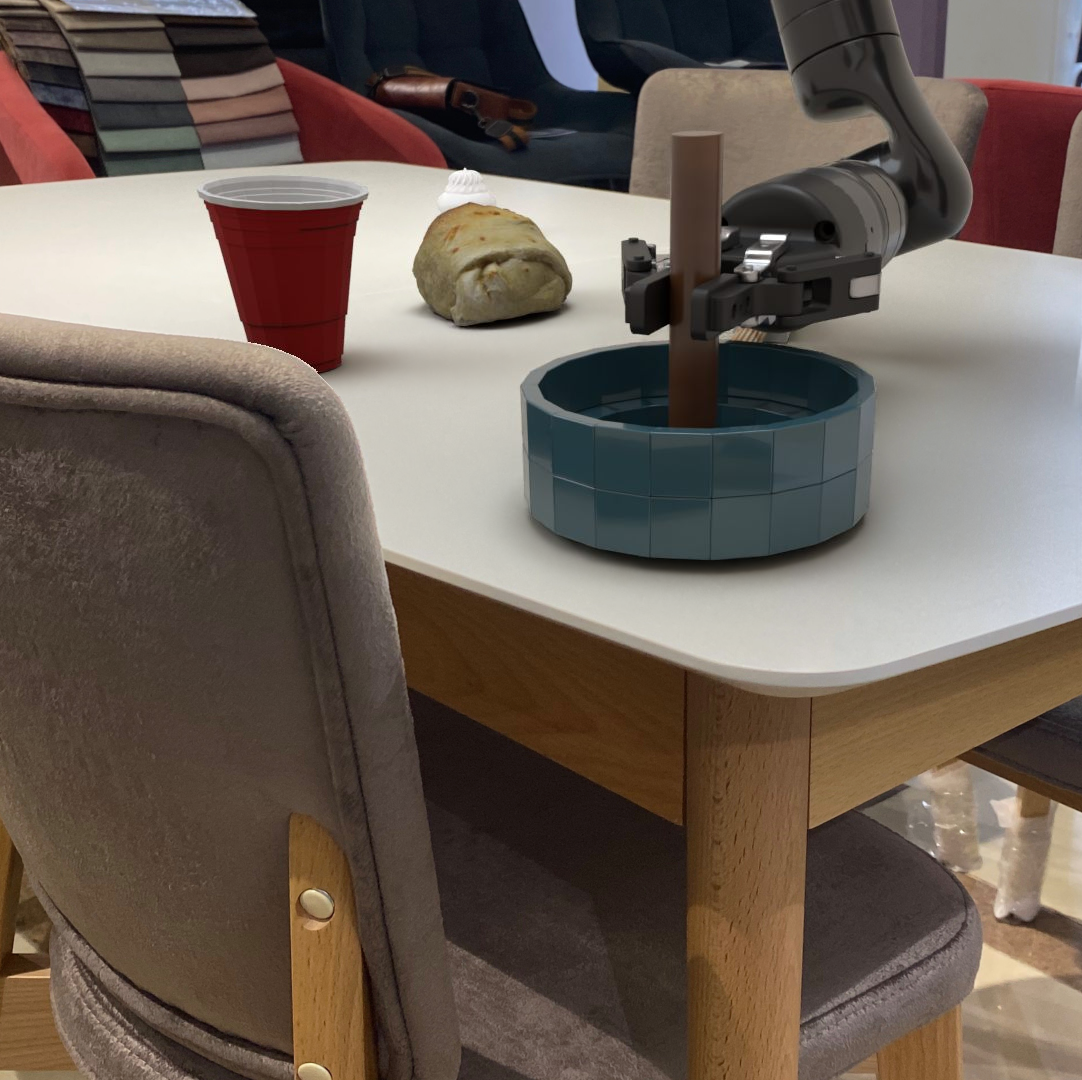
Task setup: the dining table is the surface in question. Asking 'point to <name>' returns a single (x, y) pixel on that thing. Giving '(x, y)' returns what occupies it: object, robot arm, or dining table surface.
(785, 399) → the bowl
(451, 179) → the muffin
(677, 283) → the stirrer
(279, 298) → the plastic cup
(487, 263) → the pastry
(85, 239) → the dining table surface
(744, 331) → the box of toothpicks
